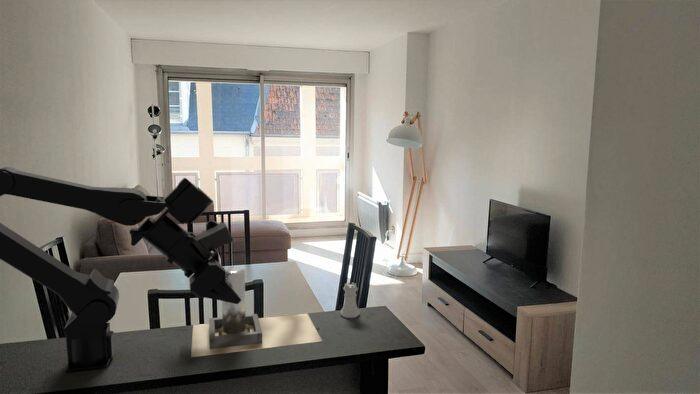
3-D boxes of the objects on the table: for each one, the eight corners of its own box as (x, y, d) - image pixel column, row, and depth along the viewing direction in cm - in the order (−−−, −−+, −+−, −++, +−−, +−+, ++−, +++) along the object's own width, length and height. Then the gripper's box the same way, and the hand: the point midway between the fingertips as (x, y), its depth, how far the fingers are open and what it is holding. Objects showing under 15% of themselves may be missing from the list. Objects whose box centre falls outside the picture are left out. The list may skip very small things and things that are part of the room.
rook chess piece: (351, 324, 98) (352, 289, 97) (335, 319, 101) (336, 284, 100) (363, 318, 102) (364, 283, 100) (348, 313, 104) (348, 279, 103)
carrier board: (191, 362, 81) (190, 346, 81) (193, 329, 94) (192, 315, 94) (322, 346, 88) (322, 331, 88) (307, 317, 101) (307, 304, 101)
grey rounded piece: (219, 343, 86) (217, 277, 84) (218, 330, 92) (216, 268, 90) (251, 339, 88) (250, 274, 86) (248, 326, 94) (247, 265, 92)
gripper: (209, 219, 76) (275, 277, 81) (202, 202, 93) (257, 251, 99) (160, 269, 74) (230, 324, 80) (162, 242, 91) (219, 289, 97)
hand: (236, 293), depth 89 cm, fingers open, 9 cm apart
